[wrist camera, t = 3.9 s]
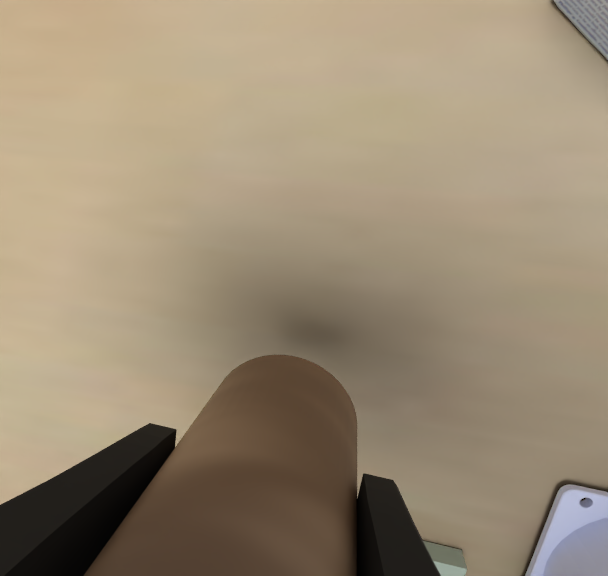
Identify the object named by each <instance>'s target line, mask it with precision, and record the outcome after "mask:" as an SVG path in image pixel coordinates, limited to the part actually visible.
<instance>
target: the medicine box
mask: <svg viewBox="0 0 608 576" xmlns="http://www.w3.org/2000/svg"><path fill="white" fill-rule="evenodd" d="M554 2H555V3H556V5H557V7H558V8H559V9H560V10H561V11H562V12H563V13H564V14H565V15H566V16H567V17H568V18H569V20H570V21H571V22H572V23H573V24H574V25H575V26H576V28H577V29H578V30H579V31H580V32H581V33H582V34H583V35H584V36H585V37H586V39H587V40H589V41H590V42H591V43H592V44H593V45H594V46H595V47H596V48H597V49H598V50H599V51H600V52H601V53H602V55H603V56H604V57H605V58H606V59H607V60H608V0H554Z"/></svg>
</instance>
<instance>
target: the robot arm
mask: <svg viewBox="0 0 608 576" xmlns="http://www.w3.org/2000/svg"><path fill="white" fill-rule="evenodd" d="M175 440H176V429H172V428H168V427H164V426H160V425H155V424H151V423H149V424H148V425H146V426H144V427H142V428H140V429H138V430H137V431H135V432H133V433H131V434H129V435H128V436H126V437H124V438H123V439H121V440H119V441H117V442H116V443H114V444H112V445H110V446H109V447H107V448H105V449H103V450H102V451H100V452H98V453H97V454H95V455H93V456H91V457H89V458H88V459H86V460H84V461H82V462H80V463H79V464H77V465H75V466H73V467H72V468H70V469H68V470H66V471H64V472H63V473H61V474H59V475H57V476H55V477H54V478H52V479H50V480H48V481H46V482H44V483H42V484H40V485H38V486H36V487H34V488H32V489H31V490H29V491H27V492H25V493H23V494H21V495H19V496H17V497H15V498H13V499H11V500H9V501H7V502H5V503H3V504H1V505H0V576H84V574H85V573H86V571H87V570H88V569H89V567H90V566H91V564H92V563H93V562H94V560H95V559H96V557H97V556H98V555H99V553H100V552H101V550H102V549H103V548H104V546H105V545H106V543H107V542H108V541H109V539H110V538H111V537H112V535H113V534H114V532H115V531H116V530H117V528H118V527H119V525H120V524H121V523H122V521H123V520H124V518H125V517H126V516H127V514H128V513H129V511H130V510H131V509H132V507H133V506H134V504H135V503H136V502H137V500H138V499H139V497H140V496H141V495H142V493H143V492H144V491H145V489H146V488H147V486H148V485H149V484H150V482H151V481H152V479H153V478H154V477H155V475H156V474H157V472H158V471H159V470H160V468H161V467H162V465H163V464H164V463H165V461H166V460H167V458H168V457H169V456H170V454H171V453H172V451H173V450H174V449H175ZM583 498H586V499H585V500H583V501H580V500H581V499H583ZM357 576H441V575H440V573H439V571H438V569H437V567H436V565H435V564H434V562H433V560H432V558H431V556H430V554H429V552H428V550H427V548H426V546H425V544H424V542H423V540H422V538H421V536H420V534H419V532H418V530H417V528H416V526H415V524H414V522H413V520H412V518H411V516H410V513H409V511H408V509H407V507H406V505H405V503H404V500H403V498H402V496H401V494H400V492H399V489H398V487H397V485H396V484H395V482H394V481H393V480H390V479H386V478H381V477H377V476H373V475H369V474H363V478H362V482H361V486H360V490H359V494H358V498H357ZM525 576H608V492H605V491H600V490H596V489H591V488H587V487H582V486H577V485H571V484H568V485H564V486H563V487H561V488H560V489H559V491H558V493H557V495H556V498H555V500H554V503H553V506H552V508H551V511H550V513H549V516H548V518H547V521H546V524H545V526H544V529H543V531H542V534H541V536H540V539H539V541H538V544H537V547H536V549H535V552H534V554H533V557H532V559H531V562H530V565H529V567H528V570H527V572H526V575H525Z"/></svg>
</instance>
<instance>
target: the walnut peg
mask: <svg viewBox="0 0 608 576" xmlns="http://www.w3.org/2000/svg"><path fill="white" fill-rule="evenodd" d="M84 576H357V418H356V413H355V409H354V406H353V403H352V401H351V399H350V397H349V395H348V394H347V392H346V390H345V389H344V387H343V386H342V385H341V384H340V383H339V381H338V380H337V379H336V378H335V377H333V376H332V375H331V374H330V373H329V372H327V371H326V370H325V369H323V368H322V367H320V366H318V365H316V364H314V363H312V362H310V361H307V360H305V359H302V358H298V357H294V356H287V355H268V356H262V357H258V358H255V359H252V360H249V361H247V362H245V363H243V364H241V365H239V366H238V367H237V368H235V369H234V370H233V371H232V372H231V373H230V374H229V375H228V376H227V377H226V378H225V379H224V380H223V382H222V383H221V385H220V386H219V387H218V389H217V390H216V392H215V393H214V394H213V396H212V397H211V398H210V400H209V401H208V403H207V404H206V405H205V407H204V408H203V410H202V411H201V412H200V414H199V415H198V417H197V418H196V419H195V421H194V422H193V424H192V425H191V426H190V428H189V429H188V431H187V432H186V433H185V435H184V436H183V438H182V439H181V440H180V442H179V443H178V444H177V446H176V447H175V449H174V450H173V451H172V453H171V454H170V456H169V457H168V458H167V460H166V461H165V463H164V464H163V465H162V467H161V468H160V470H159V471H158V472H157V474H156V475H155V477H154V478H153V479H152V481H151V482H150V484H149V485H148V486H147V488H146V489H145V491H144V492H143V493H142V495H141V496H140V497H139V499H138V500H137V502H136V503H135V504H134V506H133V507H132V509H131V510H130V511H129V513H128V514H127V516H126V517H125V518H124V520H123V521H122V523H121V524H120V525H119V527H118V528H117V530H116V531H115V532H114V534H113V535H112V537H111V538H110V539H109V541H108V542H107V543H106V545H105V546H104V548H103V549H102V550H101V552H100V553H99V555H98V556H97V557H96V559H95V560H94V562H93V563H92V564H91V566H90V567H89V569H88V570H87V571H86V573H85V574H84Z"/></svg>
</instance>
